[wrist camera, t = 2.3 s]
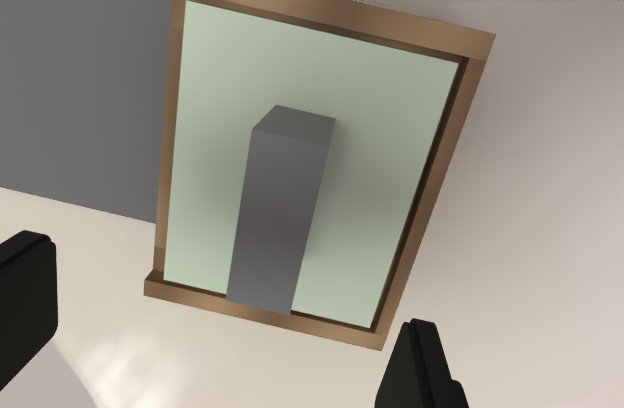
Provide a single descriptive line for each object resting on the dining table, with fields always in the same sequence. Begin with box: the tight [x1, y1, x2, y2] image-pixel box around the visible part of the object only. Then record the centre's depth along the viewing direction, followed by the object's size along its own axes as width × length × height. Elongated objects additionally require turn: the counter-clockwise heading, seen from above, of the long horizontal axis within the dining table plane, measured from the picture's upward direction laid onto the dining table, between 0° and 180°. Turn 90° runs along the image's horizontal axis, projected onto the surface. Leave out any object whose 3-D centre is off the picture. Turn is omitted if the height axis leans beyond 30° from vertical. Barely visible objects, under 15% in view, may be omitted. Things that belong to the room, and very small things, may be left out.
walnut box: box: [144, 0, 496, 351], centre depth 23 cm, size 13×16×7 cm
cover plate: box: [163, 0, 459, 328], centre depth 18 cm, size 11×13×6 cm
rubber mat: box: [0, 0, 171, 224], centre depth 26 cm, size 15×13×1 cm
